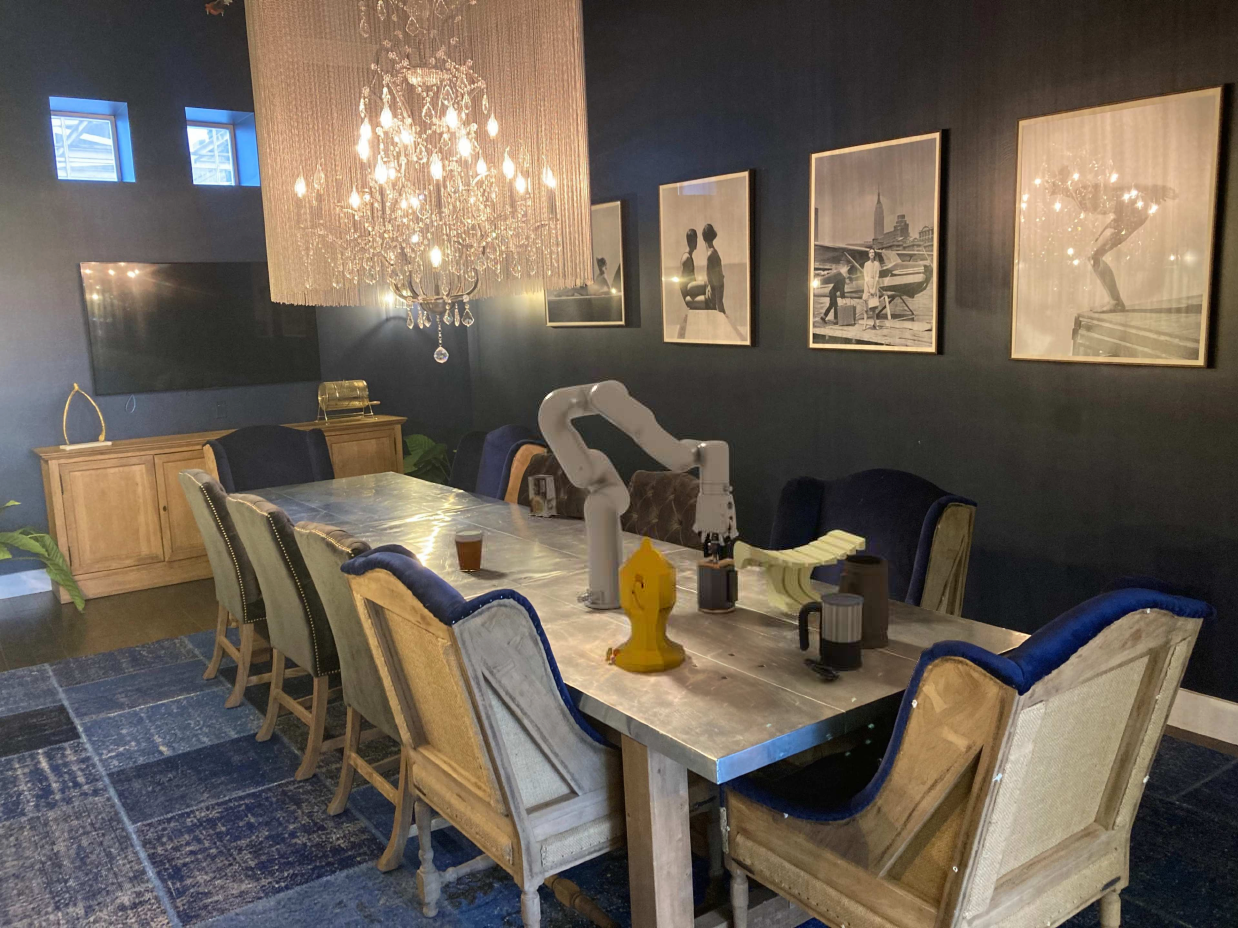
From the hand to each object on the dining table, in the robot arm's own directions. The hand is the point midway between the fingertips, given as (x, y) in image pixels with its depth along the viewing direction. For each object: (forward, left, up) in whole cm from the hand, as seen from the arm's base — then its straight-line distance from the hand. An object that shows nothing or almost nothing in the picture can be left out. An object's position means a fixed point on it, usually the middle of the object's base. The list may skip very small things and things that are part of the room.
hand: (715, 557), depth 250 cm
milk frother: (-21, -46, -14) cm, 53 cm away
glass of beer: (-11, +87, -14) cm, 89 cm away
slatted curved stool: (+16, -15, -14) cm, 26 cm away
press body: (0, 0, -14) cm, 14 cm away
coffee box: (+64, +132, -14) cm, 147 cm away
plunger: (0, 0, -11) cm, 11 cm away
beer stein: (-3, -43, -14) cm, 45 cm away
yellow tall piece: (-41, -10, -14) cm, 44 cm away
